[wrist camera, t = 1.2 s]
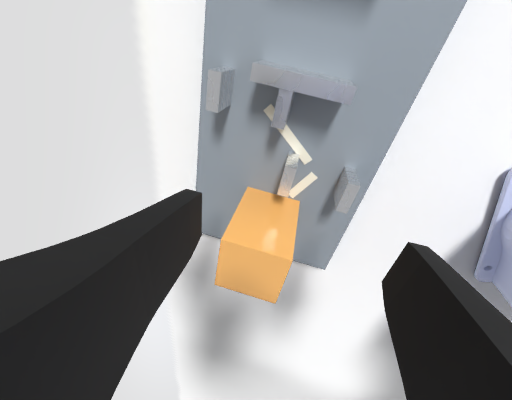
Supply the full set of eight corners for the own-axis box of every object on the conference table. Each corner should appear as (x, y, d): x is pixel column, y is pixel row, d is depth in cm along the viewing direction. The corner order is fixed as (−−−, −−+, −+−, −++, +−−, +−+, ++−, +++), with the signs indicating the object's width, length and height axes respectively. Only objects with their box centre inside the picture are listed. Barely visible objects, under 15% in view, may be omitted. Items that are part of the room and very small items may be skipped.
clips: (343, 194, 17) (346, 213, 15) (214, 158, 17) (201, 173, 16) (385, 104, 13) (396, 115, 11) (223, 66, 14) (208, 69, 12)
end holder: (345, 96, 14) (350, 105, 12) (259, 75, 14) (249, 81, 12) (415, -92, 10) (441, -129, 8) (293, -113, 10) (286, -154, 8)
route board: (324, 261, 22) (324, 270, 21) (198, 223, 23) (193, 231, 22) (499, -81, 10) (517, -94, 9) (221, -130, 11) (212, -145, 10)
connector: (286, 240, 20) (275, 303, 15) (239, 226, 20) (214, 284, 15) (299, 201, 18) (292, 260, 13) (247, 186, 18) (221, 239, 13)
